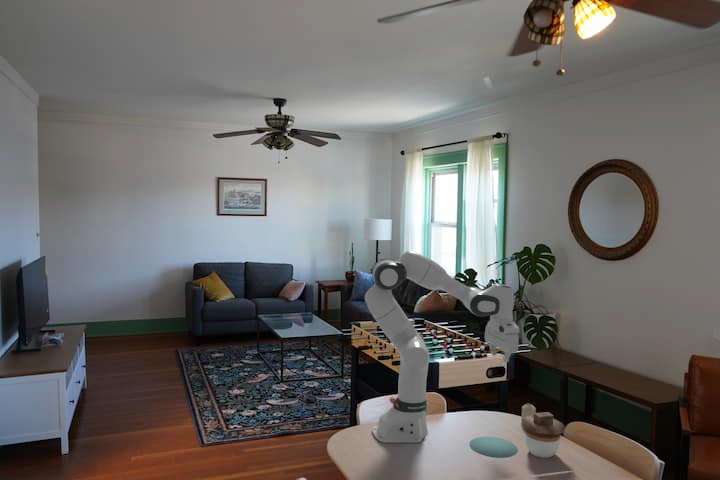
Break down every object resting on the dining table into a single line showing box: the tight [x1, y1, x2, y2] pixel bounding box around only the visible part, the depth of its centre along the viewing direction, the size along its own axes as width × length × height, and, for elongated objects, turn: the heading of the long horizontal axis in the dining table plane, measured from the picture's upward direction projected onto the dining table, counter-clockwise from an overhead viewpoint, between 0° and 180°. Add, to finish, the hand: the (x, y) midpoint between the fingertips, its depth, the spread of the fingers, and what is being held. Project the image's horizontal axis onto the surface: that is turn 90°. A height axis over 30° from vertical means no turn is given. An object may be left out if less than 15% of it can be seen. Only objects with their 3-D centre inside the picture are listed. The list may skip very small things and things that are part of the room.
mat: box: [469, 436, 519, 459], centre depth 213 cm, size 18×18×1 cm
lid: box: [522, 411, 565, 435], centre depth 208 cm, size 15×15×4 cm
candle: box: [520, 403, 537, 429], centre depth 233 cm, size 6×6×10 cm
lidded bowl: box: [524, 428, 562, 459], centre depth 209 cm, size 13×13×11 cm
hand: (499, 358), depth 225 cm, fingers open, 8 cm apart
